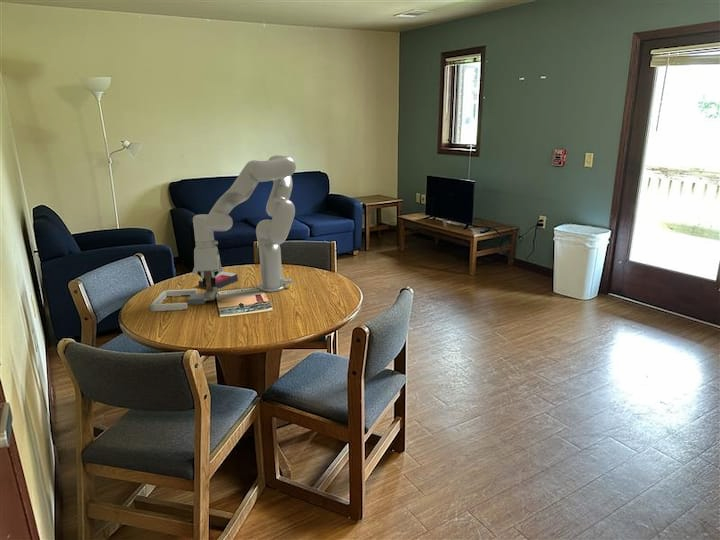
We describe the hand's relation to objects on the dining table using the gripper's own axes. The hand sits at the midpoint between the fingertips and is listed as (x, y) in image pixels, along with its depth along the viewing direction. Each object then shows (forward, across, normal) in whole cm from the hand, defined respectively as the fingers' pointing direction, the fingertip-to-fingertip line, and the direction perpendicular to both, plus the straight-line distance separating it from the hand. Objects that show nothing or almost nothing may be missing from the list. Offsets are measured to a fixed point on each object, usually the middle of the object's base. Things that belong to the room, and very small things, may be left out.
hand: (209, 285), depth 212 cm
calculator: (+7, +1, -24) cm, 25 cm away
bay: (+7, +15, 0) cm, 17 cm away
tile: (+7, +5, 0) cm, 9 cm away
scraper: (+5, 0, 0) cm, 5 cm away
